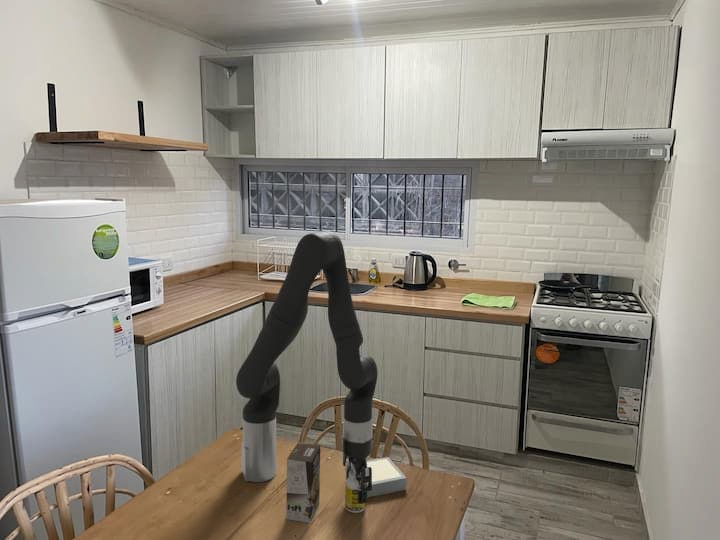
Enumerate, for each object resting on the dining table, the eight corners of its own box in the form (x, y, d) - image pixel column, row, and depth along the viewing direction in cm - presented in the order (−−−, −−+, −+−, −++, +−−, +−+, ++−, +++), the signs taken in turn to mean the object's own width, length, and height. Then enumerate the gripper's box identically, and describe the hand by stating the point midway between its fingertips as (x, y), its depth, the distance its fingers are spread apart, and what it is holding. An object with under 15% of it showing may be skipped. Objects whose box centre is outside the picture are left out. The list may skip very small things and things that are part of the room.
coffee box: (310, 523, 132) (311, 462, 129) (285, 519, 133) (285, 458, 130) (320, 502, 141) (321, 444, 138) (297, 498, 142) (297, 441, 139)
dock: (365, 498, 143) (365, 485, 142) (349, 475, 154) (349, 463, 153) (406, 489, 147) (406, 477, 147) (387, 468, 158) (388, 456, 158)
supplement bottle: (350, 515, 135) (351, 479, 134) (341, 504, 140) (342, 469, 138) (369, 510, 138) (370, 474, 136) (359, 499, 142) (360, 464, 141)
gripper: (334, 424, 141) (333, 482, 143) (353, 449, 128) (352, 512, 130) (360, 420, 143) (359, 477, 146) (382, 444, 130) (380, 506, 133)
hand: (356, 493), depth 138 cm, fingers open, 8 cm apart
